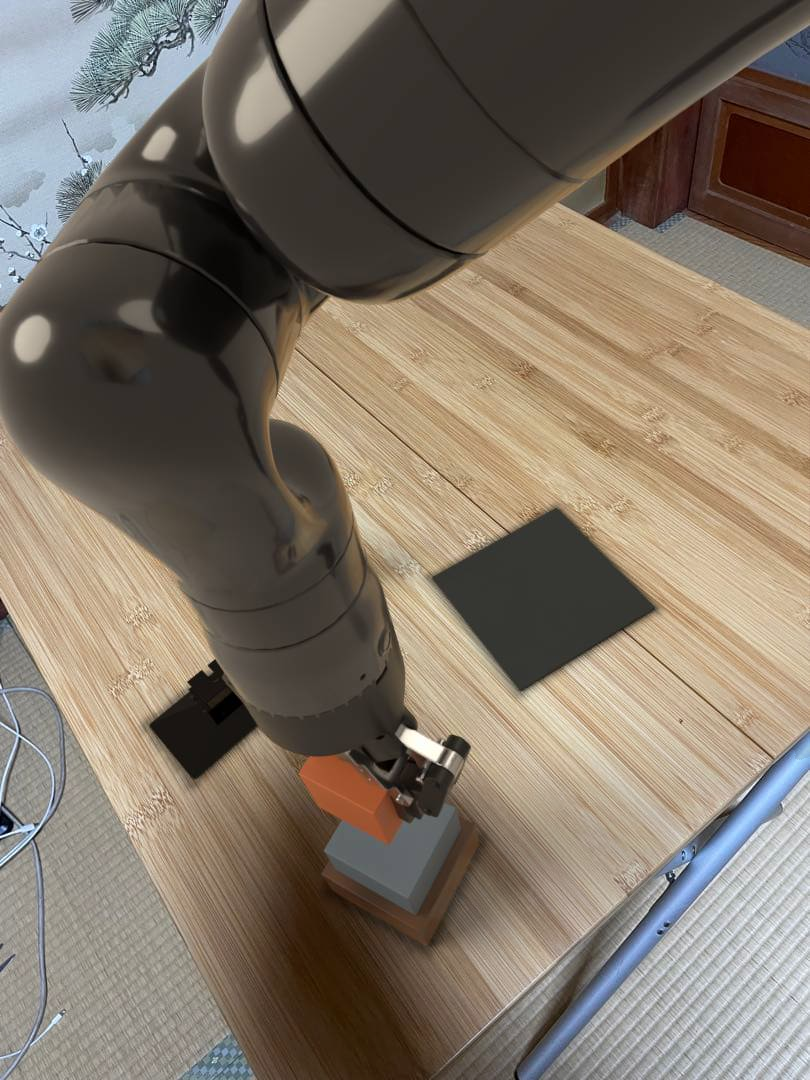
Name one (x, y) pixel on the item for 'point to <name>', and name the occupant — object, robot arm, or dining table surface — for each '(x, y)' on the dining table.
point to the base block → (435, 901)
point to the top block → (350, 797)
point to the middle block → (397, 857)
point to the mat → (541, 597)
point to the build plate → (204, 722)
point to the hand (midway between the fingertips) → (373, 784)
